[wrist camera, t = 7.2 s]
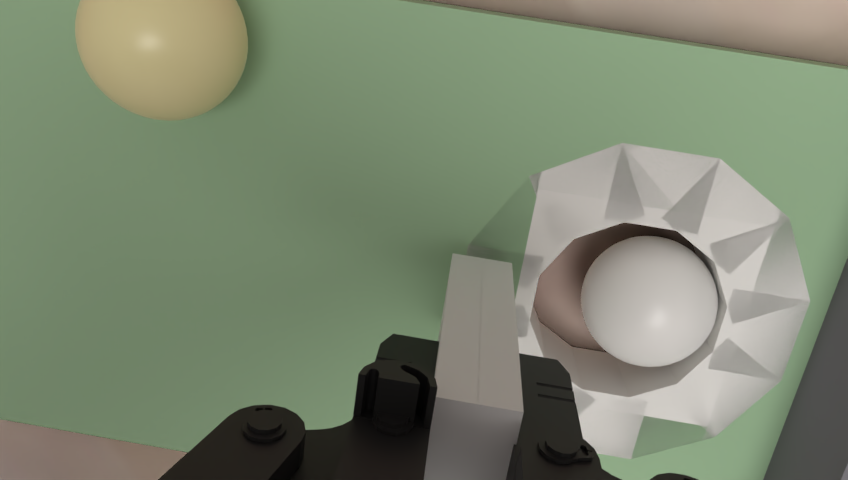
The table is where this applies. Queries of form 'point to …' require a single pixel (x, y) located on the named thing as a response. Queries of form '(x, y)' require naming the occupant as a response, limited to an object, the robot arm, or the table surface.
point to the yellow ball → (163, 53)
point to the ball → (649, 301)
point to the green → (420, 225)
